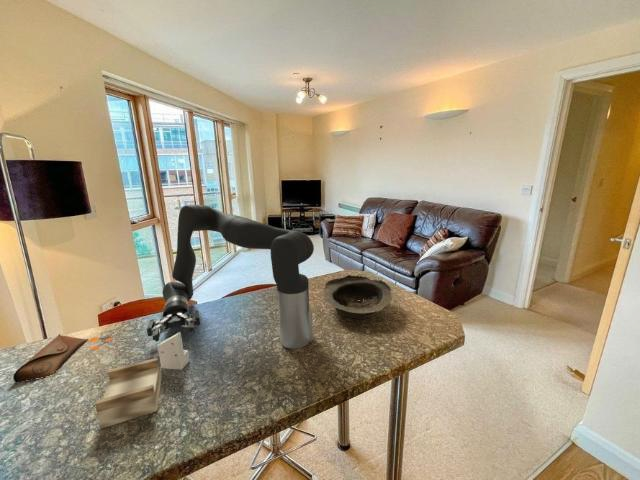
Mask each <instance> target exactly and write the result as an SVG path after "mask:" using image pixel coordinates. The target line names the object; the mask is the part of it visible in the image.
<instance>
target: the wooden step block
mask: <svg viewBox="0 0 640 480" xmlns="http://www.w3.org/2000/svg"><path fill="white" fill-rule="evenodd" d="M159 362H160V360H159V357H155V358H151V359H147V360H143V361H139V362H135V363H132V364H126V365H124V366H120V367H115V368H111V369H109V370H108V371H107V374H108V379H109V381H108V384H107V386H106V389H105V391H104V394H103V397H102V398H100V399H97V400H96V401H95V404H94V407H95V410H96V412H97V413H96V414H97V417H98V421H99V425H100V429H105V428H107V427H110V426H114V425H117V424H120V423H122V422H123V423H125V422H126V421H129V420H133V419H137V418H139V417H142V416H146V415H148V414H152V413H156V412H157V411H158V407H159V401H160V394H161V385H162V374H161V373H162V371H161V366H160V363H159Z"/></svg>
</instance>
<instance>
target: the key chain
mask: <svg viewBox="0 0 640 480" xmlns="http://www.w3.org/2000/svg"><path fill="white" fill-rule="evenodd" d="M108 332H110V333H109V334H108V335H106V336H105V335H104V337H103V334H105V333H108ZM113 332H114V330H107V331H104V332H101V333H100V337H93V338H90V339H88V342H89V343H91V342H92V343H93V342H95V341H98V340H99V339H100V340H101V342H103V343H102V344H100V345H98V346H94V347H91V348H90V349H89V351H88V352H86V353H85V354H83V355H82V356H83V357H87V355H89V354H90V353H92V352H93V351H97V350H98V349H99V347H102V346H103V345H104V344H106V343H108V344H109V346H112V345H113V340H114V338H113V337H112V334H113Z"/></svg>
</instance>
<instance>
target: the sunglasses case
mask: <svg viewBox="0 0 640 480" xmlns="http://www.w3.org/2000/svg"><path fill="white" fill-rule="evenodd" d="M88 341H89V338H80V337H74V336H67V335H61V334H60V333H59V334H58V335H57V336H56V337H55V338H54V339H52V340H51V341H50V342H49V343H47V344H46V345H45V346H43V347H42V348H41V349H40V350H39V351H38V352H37V353H35V354H34V355H33V356H32V357H31V358H30V359H29V360H27V361H26V362H25V363H24V364H23V365H21V366H20V367H18V369H17V370H16V371H15V372H14V374H13V375H12V376H13V379H12V380H13V381H14V382H15V383H17V382H19V383H23V382H22V381H25V382H27V381H26V380H30V381H32V380H31V379H36V378H41V377H46V376H50V375H53V374H55V373H56V374H57V372H58V371H59V370H60V369H61V367H62V366H63V365H65V363H66V362H67V361H68V360H69V358H71V357H72V356H73V355H74V354H75V353H76V352H77V351H78V350H79V349H80V348H81V347H82V346H83V345H84V344H85V343H87V342H88ZM58 369H59V370H58ZM57 370H58V371H57ZM56 371H57V372H56ZM56 374H55V375H56ZM50 377H51V376H50ZM46 378H47V377H46ZM41 379H42V378H41ZM36 380H37V379H36ZM17 384H18V383H17Z"/></svg>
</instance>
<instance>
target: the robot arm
mask: <svg viewBox="0 0 640 480" xmlns="http://www.w3.org/2000/svg"><path fill="white" fill-rule="evenodd" d="M177 220H178V221H177V239H176V242H177V243H176V255H175V261H174V265H173V269H172V276H171V277H172V278H173V279H174V280H175V281H169V282H168V283H165V284H164V286H163V288H162V297H163V299H164V301H165V304H164V307H163V311H162V312H163V313H162V317H160V319H159V320H155V319H154V318H151V319H150V320H149V321H148V324H147V326H146V334H147V337H152V340H153V341H155V343H157V342H159V341H160V336H161V334H162V333H163V334H164V333H166V332H167V331H169V330H170V329H174V328H179V327H183V328H187V329H188V334H189V335H190V334H191V335H192V334H193V332H195V326H201V323H202V322H201V317H200V315H201V314H200V312H199V309H196V310H194V312H193V313H189V312H190V311H189V310H190V304H189V302H190V300H191V299H193V296H194V286H193V278H194V273H195V268H196V265H197V256H196V253H195V250H194V248H193V246H192V242H191V241H192V235H193V233H194V232H203V231H209V232H211V231H212V232H216V233H219V234H221V236H222V238H223V239H224V240H225V241H226V242H228V243H230V244H231V245H235V246H238V247H241V248H245V249H251V250H252V249H253V250H270V261H271V262H270V263H271V269H272V277H273V280H274V283H275V285H276V293H277V294H276V296H277V311H278V326H279V341H280V344H281V346H283V347H284V348H287V349H289V350H295V349H301V348H305V347H306V346H307V345H308V344H310V343H311V342H313V341H314V334H313V333H314V332H313V331H314V330H313V312H312V311H311V310H310V291H309V289H310V288H309V287H310V286H309V278H308V276H306V275H305V274H303V273H300V269H299V265H300V264H302V263H305V262H306V261H307V260H308V259H310V258H311V257H312V256H313V254H314V249H315V248H314V247H315V246H314V243H313V241H312V239H311V237H309V236H308V235H307V234H306V233H304V232H302V231H298V230H293V229H285V228H279V227H277V226H276V227H275V226H272V225H270V224H267V223H264V222H263V223H262V222H260V221H256V220H253V219H251V218H247V217H243V216H239V215H235V214H231V213H226V212H223V211H220V210H219V209H216V208H214V207H212V206H210V205H207V204H186V205H183V206H182V207H181V208H180V211H179V214H178V219H177Z"/></svg>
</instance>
